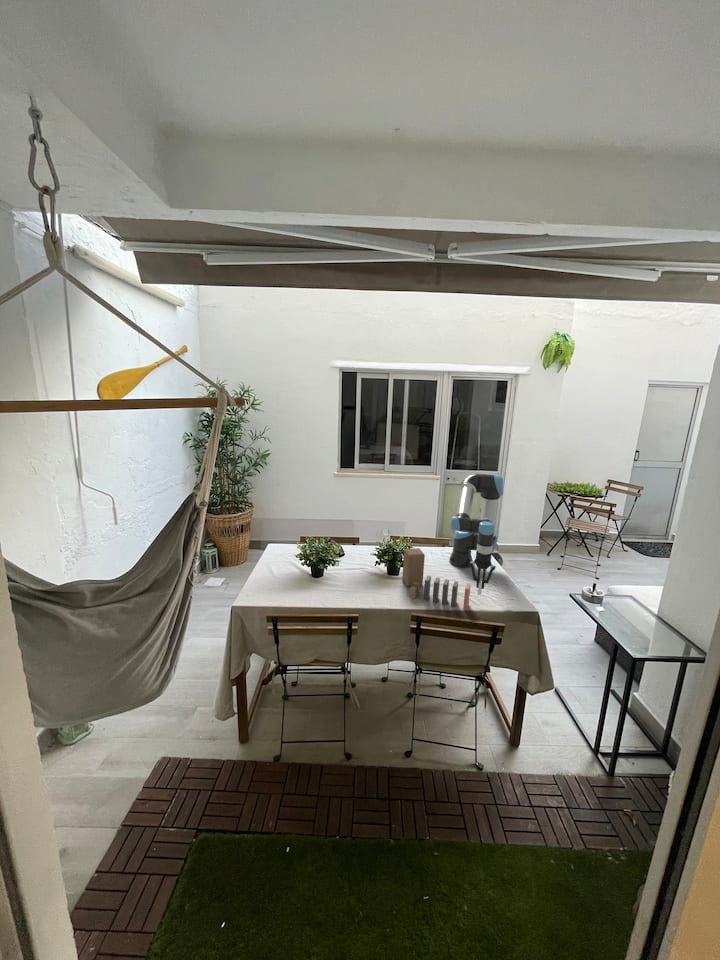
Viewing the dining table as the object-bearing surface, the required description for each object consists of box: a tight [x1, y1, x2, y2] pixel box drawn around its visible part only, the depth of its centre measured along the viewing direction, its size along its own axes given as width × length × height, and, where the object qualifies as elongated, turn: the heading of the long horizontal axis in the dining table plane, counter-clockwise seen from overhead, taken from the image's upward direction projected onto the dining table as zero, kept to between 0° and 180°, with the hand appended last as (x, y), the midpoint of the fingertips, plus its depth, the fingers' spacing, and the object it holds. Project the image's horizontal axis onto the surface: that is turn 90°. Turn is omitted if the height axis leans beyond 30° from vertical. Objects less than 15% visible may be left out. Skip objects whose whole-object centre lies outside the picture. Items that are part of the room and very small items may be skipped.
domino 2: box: [431, 577, 441, 604], centre depth 223 cm, size 2×6×12 cm, turn 157°
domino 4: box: [450, 580, 459, 608], centre depth 219 cm, size 2×6×12 cm, turn 158°
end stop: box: [409, 582, 420, 600], centre depth 228 cm, size 8×3×6 cm, turn 157°
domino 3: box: [441, 578, 450, 606], centre depth 221 cm, size 2×6×12 cm, turn 157°
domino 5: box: [462, 583, 471, 611], centre depth 217 cm, size 2×6×12 cm, turn 157°
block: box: [402, 547, 425, 587], centre depth 241 cm, size 10×10×20 cm
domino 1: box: [423, 575, 432, 602], centre depth 225 cm, size 2×6×12 cm, turn 157°
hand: (479, 593), depth 214 cm, fingers closed
